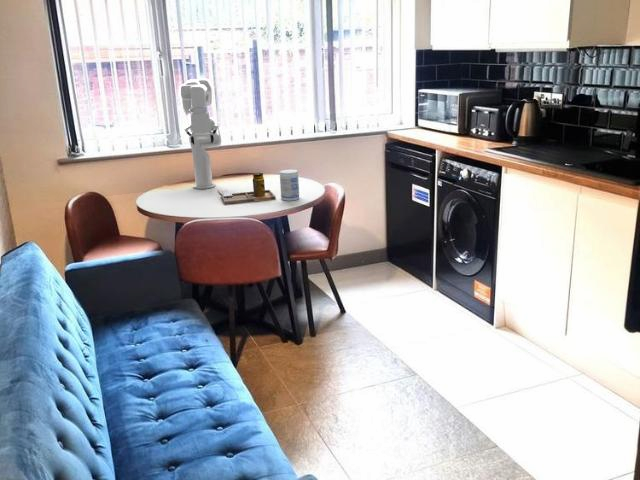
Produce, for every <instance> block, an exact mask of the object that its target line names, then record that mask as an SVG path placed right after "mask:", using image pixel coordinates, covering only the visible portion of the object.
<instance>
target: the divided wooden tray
mask: <svg viewBox="0 0 640 480" xmlns="http://www.w3.org/2000/svg"><path fill="white" fill-rule="evenodd" d="M231 194H232V195H233V198H228V199H227V198H224V196H223V195H224V194H220V196H221V197H220V198H221V200H222V202H223V204H224V206H225V205H235V204H243V203H252V202H253V203H254V202H264V201H272V200H276V195H275V194H274V193H273V192H272V191H271V189H265V195H268V196H264V197H258V198H252V197H250V196H249V195H253V194H254V190H253V191H245V192H235V193H234V192H233V193H231Z"/></svg>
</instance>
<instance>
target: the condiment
mask: <svg viewBox="0 0 640 480" xmlns="http://www.w3.org/2000/svg"><path fill="white" fill-rule="evenodd" d="M252 187H253V191H254V194H253V195H249V196H250V197H252V198H258V197H264V196H268V195H265V190H266V187H265V177H264V173H263V172H254V173H253V174H252Z"/></svg>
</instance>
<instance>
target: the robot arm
mask: <svg viewBox="0 0 640 480" xmlns="http://www.w3.org/2000/svg"><path fill="white" fill-rule="evenodd" d="M212 88H213V87H212V83H211V81H210V80H209V79H208V78H197V79H196V78H194V79H188V80H187V81H186V82H185V83H182V84H180V85H179V88H178V91H179V92H178V93H179V97H180V103H181V106H182V109H183V112H184V113H185V115H186V116H187V120H188V124H189V125H188V126H186V127H185V128H184V131H185V133H186V134H187V135H188V136H189V138H188V139H189V144H190V148H191V153H192V162H193V169H194V170H193V171H194V178H195V179H194V180H195V183H194V184H193V187H192V188H193V189H197V190H198V189H199V190H203V189H204V190H205V189H212V188H215V187H216V183H215V182H213V176H212V165H211V164H212V163H211V156H210V154H209V152H207V151H206V149H208V148H209V149H210V148H219V147H220V146H221V145H222V137H221V132H220V128H219V123H218V120H217V119H216V118H215V117H210V113H209V112H208V110H207V109H208V108H207V106H208V107H209V106H211V104H212V101H213V99H212V97H213V96H212V95H213V90H212ZM189 130H190V132H189Z"/></svg>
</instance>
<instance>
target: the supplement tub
mask: <svg viewBox="0 0 640 480" xmlns="http://www.w3.org/2000/svg"><path fill="white" fill-rule="evenodd" d="M298 172H299V171H298V169H283V170H281V171H279V184H280V185H279V186H280V199H281V200H282V201H284V202H292V201H297V200H298V199H300V187H299V185H300V183H299V173H298Z"/></svg>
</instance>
